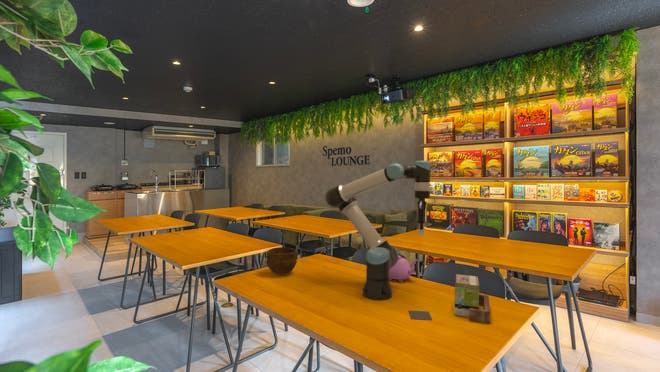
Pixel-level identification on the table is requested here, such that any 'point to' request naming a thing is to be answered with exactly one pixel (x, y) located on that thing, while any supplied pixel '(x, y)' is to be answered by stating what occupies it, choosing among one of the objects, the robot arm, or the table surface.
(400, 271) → the teapot
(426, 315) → the rubber coaster
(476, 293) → the tea box
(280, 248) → the bowl
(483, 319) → the display bay
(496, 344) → the table surface
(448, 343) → the table surface
